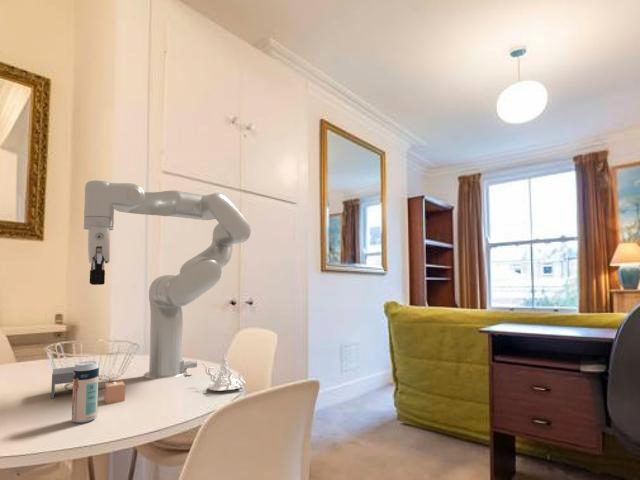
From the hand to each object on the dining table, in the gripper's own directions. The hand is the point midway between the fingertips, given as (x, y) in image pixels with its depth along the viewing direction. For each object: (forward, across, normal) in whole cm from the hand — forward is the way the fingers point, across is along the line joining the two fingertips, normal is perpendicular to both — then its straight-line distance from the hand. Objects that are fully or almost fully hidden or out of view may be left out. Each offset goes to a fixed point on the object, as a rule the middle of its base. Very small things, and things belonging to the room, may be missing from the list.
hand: (96, 284), depth 115 cm
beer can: (+28, -28, +3) cm, 40 cm away
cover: (+28, -4, +6) cm, 29 cm away
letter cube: (+28, -17, -4) cm, 33 cm away
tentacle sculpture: (+29, -19, -31) cm, 46 cm away
